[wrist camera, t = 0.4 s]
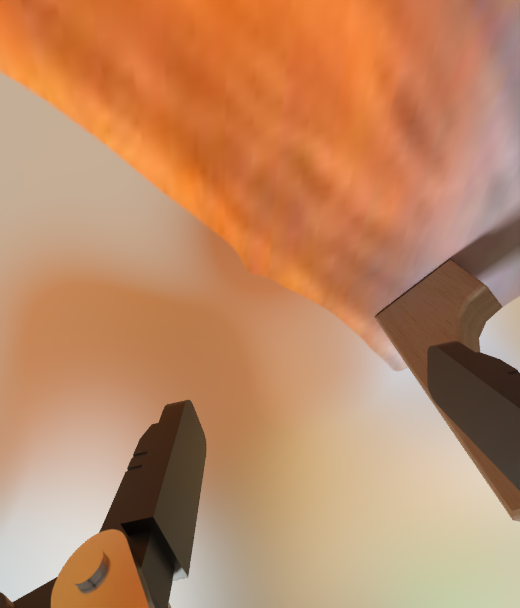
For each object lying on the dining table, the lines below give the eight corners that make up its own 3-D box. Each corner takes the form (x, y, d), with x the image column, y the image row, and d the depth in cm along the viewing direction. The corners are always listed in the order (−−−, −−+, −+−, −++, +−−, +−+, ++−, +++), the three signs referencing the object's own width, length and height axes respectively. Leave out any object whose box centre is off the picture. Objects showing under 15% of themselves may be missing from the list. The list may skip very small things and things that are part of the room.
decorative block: (394, 332, 53) (532, 523, 30) (373, 316, 50) (510, 519, 26) (467, 280, 47) (714, 471, 24) (449, 258, 43) (718, 455, 20)
